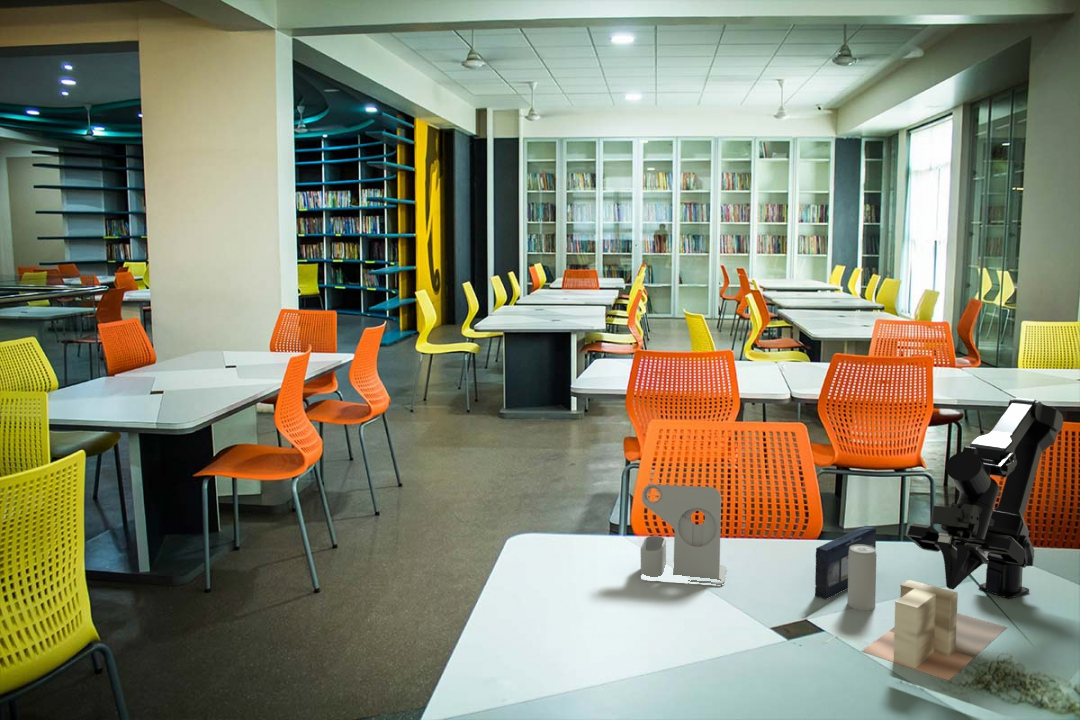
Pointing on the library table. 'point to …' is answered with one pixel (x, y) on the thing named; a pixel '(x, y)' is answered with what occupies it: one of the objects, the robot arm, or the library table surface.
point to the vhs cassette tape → (838, 561)
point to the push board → (968, 645)
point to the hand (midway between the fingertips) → (949, 588)
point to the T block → (924, 623)
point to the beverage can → (862, 577)
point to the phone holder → (685, 533)
